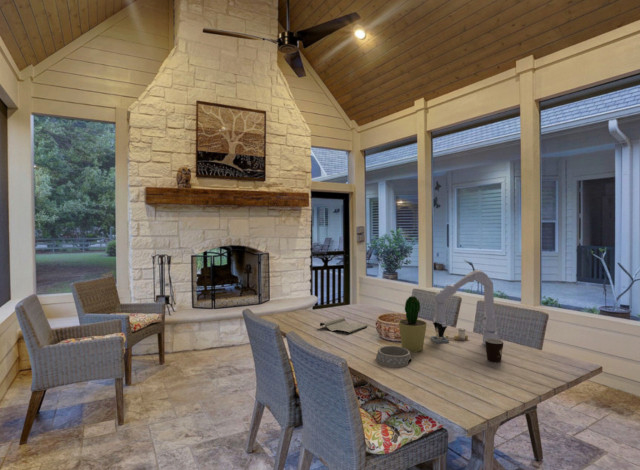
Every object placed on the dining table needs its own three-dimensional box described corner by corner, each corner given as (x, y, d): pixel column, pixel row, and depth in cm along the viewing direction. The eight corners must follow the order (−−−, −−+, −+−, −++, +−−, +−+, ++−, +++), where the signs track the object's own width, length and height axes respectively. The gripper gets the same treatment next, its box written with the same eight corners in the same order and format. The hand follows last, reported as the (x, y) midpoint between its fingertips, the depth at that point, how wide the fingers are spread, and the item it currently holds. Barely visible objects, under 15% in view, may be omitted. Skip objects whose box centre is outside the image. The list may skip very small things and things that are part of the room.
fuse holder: (470, 342, 224) (470, 336, 224) (447, 342, 223) (447, 337, 223) (465, 338, 231) (465, 333, 231) (443, 338, 230) (443, 333, 230)
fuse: (466, 340, 225) (466, 330, 225) (459, 340, 225) (460, 330, 225) (463, 338, 229) (463, 328, 229) (457, 338, 229) (457, 328, 229)
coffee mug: (492, 364, 189) (493, 344, 188) (481, 358, 197) (481, 339, 197) (512, 361, 192) (512, 342, 192) (499, 356, 200) (500, 337, 200)
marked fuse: (444, 338, 222) (444, 328, 222) (437, 339, 222) (437, 328, 222) (441, 336, 226) (441, 326, 226) (435, 336, 226) (435, 327, 226)
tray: (448, 344, 220) (448, 340, 220) (435, 344, 220) (435, 340, 220) (443, 339, 228) (443, 336, 228) (430, 340, 228) (430, 336, 228)
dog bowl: (415, 358, 197) (415, 348, 197) (404, 370, 182) (404, 359, 182) (384, 352, 206) (384, 343, 206) (371, 363, 190) (371, 352, 190)
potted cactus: (415, 355, 202) (415, 299, 201) (392, 347, 214) (393, 295, 213) (432, 349, 212) (432, 295, 211) (409, 342, 223) (410, 291, 223)
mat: (348, 336, 238) (348, 328, 237) (319, 329, 252) (319, 322, 252) (368, 328, 256) (368, 321, 256) (339, 322, 270) (339, 316, 270)
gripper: (429, 310, 231) (428, 332, 231) (437, 316, 216) (437, 339, 217) (440, 310, 231) (440, 332, 231) (449, 315, 216) (449, 339, 217)
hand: (439, 335), depth 224 cm, fingers closed on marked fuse, 4 cm apart
